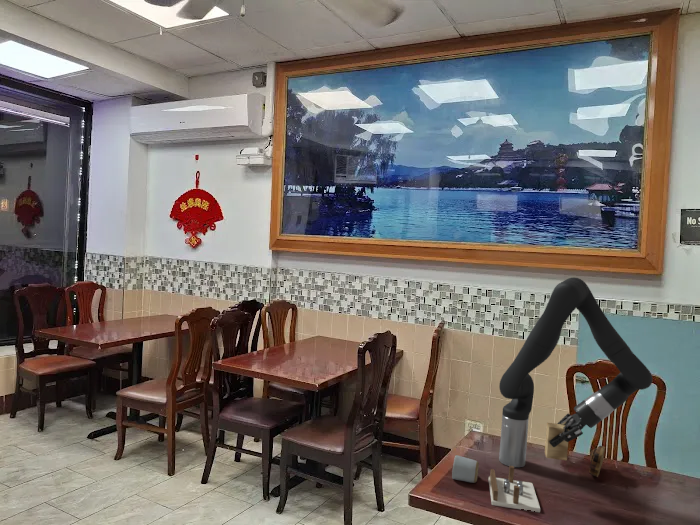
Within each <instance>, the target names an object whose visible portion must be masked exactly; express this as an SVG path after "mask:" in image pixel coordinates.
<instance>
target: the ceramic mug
mask: <svg viewBox="0 0 700 525" xmlns="http://www.w3.org/2000/svg"><path fill="white" fill-rule="evenodd" d="M479 463H480V462H479V461H478V460H476V459H472V458H468V457H464V456H462V455H457V454H456V455H455V456H454V458H453V465H452V471H451V479H452V480H457V481H462V482H466V483H471V484H472V483H473V484H475V483H477V481H478V477H479V476H478V475H479V468H480V467H479V466H480V464H479Z"/></svg>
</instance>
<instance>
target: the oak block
mask: <svg viewBox="0 0 700 525" xmlns="http://www.w3.org/2000/svg"><path fill="white" fill-rule="evenodd" d="M564 426H565V425H561V424H557V423H555V422H546V428H545V430H546V431H545V443H544V456H545V458H546V459H551V460H552V459H554V460H560V461H561V460H562V461H567V460H568V452H569V451H568V449H569V442H566V441H562V442H561V443H560V444H558V445H557V446H556V447H553V446H552V445H551V444H550V442H549V441H550V440H551V439H553V438H554V437H555V436H557V435H559V433H560V432H562V431H563V427H564ZM568 431H569V429H568ZM566 436H567V435H566Z"/></svg>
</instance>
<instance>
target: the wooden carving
mask: <svg viewBox="0 0 700 525" xmlns="http://www.w3.org/2000/svg"><path fill="white" fill-rule="evenodd" d="M605 449H606V447H605V446H603V445H599V446H597V447H596V448H594V449H592V450H590V453H589V457H590V458H589V459H590V464H589V470H588V472H589V475H592V476H594V477H597V478H598V477H599V476H600V473H601V472H600V471H601V469H602V467H603V466H602V465H603V463H604V458H605V451H606V450H605Z"/></svg>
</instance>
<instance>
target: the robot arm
mask: <svg viewBox="0 0 700 525" xmlns="http://www.w3.org/2000/svg"><path fill="white" fill-rule="evenodd" d="M576 309H577V310H578V311H579V313H580V314H581V315H582V316H583V318H584V319H585V321H586V323H587V325H588V327H589V329H590V332H591V334H592V337H593V339H594V341H595V342H596V344H597V345H598V347H599V349H600V350H601V351H602V352H603V354H604V355H605V356H606V357H607V359H608V360H609V362H611V363H612V364H613V365H615V367H616V369H617V370H618V371H619V373H618V374H617V375H616V376H615V377H614V378H613V379H612V380H611V381H610V382H608V383H606V384H605V385H604V386H603V387H601V388H600V389H598V390H597V391H596V392H593V393H592V394H590V395H589V396H588V397H586V398H584V400H582V401H581V402H579V403H578V404H577V405H576V406H574V407H573V411H574V412H575V413H573V414H570V413H567V414H565V415H564V416H563V418H561V419H560V420H559V421H558V423H556V424H561V425H565V426H564V427H563V431H562V432H560V433H559V435H557V436H555V437H554V438H553V439H551V440H550V441H549V442H550V444H551V445H552V446H553V447H556V446H557V445H558V444H560V443H561V442H562V441H566V442H568V443H569V442H571V441H573V440H575V439H576V438H579V437H580V436H582V435H584V432H583V431H582V430H583V429H584V428H585V427H586V426H587V427H588V428H590V429H592V428H593V427H595V426H596V425H597V424H599V423H600V422H601V421H603V420H604V419H605V418H607V417H608V416H610V415H611V414H612V413H613V411H615V410H616V409H618V408H619V407H620V406H622V405H623V404H624V403H626V401H627V400H628V398H629V397H630V396H631V395H632V394H634V393H635V392H636V391H638V390H640V391H641V390H646V389H648V388H650V387H651V386H652V383H653V375H652V372H650V370H649V368H648V367H647V366H646V365H645V364H644V362H642V360H641V359H639V357H638V356H636V354H635V353H634V352H633V351H632V349H631V347H629V345H628V344H627V343H626V341H625V340H624V339H623V338H622V337H621V335H620V334H619V333H618V331H617V330H616V329H615V327H614V326H613V325H612V323H611V322H610V320H609V319H608V317H607V316H606V315H605V313H604V312H603V310H602V308H601V306H600V305H599V303H598V302H597V300H596V298H595V296H594V294H593V292H592V291H591V289H590V288H589V286H588V285H587V283H586V282H585V281H584V280H583V279H581V278H579V277H569V278H567V279H565V280H562V281H561V282H559V283H557V284H556V285H555V287H554V288H553V290H552V292H551V295H550V297H549V299H548V301H547V304H546V306H545V309H544V311H543V312H542V314H541V316H540V317H539V318H538V320H537V322H536V323H535V325H534V326H533V327H532V329H531V330H530V332H529V334H528V336H527V338H526V339H525V341H524V343H523V345H522V347H521V348H520V350H519V352H518V353H517V355H516V356H515V358H514V360H513V361H512V362H511V364H510V365H509V367H507V369H506V370H505V371H504V373H503V374H502V376H501V378H500V381H499V387H498V388H499V392H500V394H501V395H502V396H503V397H504V398H506V399H509V400H510V401H509V402H508V403H507V404H504V406H503V407H502V415H501V416H502V417H501V430H500V444H499V454H498V460H499V462H500V463H501V464H502V465H505V466H508V467H509V466H514V468H523V467H525V465H526V460H527V458H526V457H527V446H528V434H529V433H528V432H529V431H528V430H529V420H530V419H529V418H530V414H531V412H532V408H533V402H534V394H535V384H534V379H533V378H532V376H531V375H530V373H531V372H532V371H533V370H535V369H536V368H537V367H539V366H540V365H542V364H543V363H544V362H546V360H548V359H549V357H550V356H551V354H552V353H553V351H554V349H555V348H556V346H558V343H559V341H560V338H561V334H562V329H563V326H564V325H565V323H566V321H568V318H569V317H570V315H571V314H572V313H573V312H574V311H575V310H576ZM568 429H569V431H568ZM566 435H567V436H566Z"/></svg>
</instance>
